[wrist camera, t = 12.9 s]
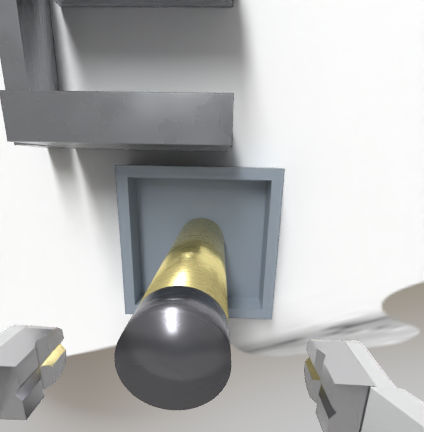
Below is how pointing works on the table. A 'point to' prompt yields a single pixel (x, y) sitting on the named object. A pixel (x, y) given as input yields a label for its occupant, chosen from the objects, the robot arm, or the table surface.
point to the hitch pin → (181, 325)
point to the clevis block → (97, 94)
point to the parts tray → (202, 208)
